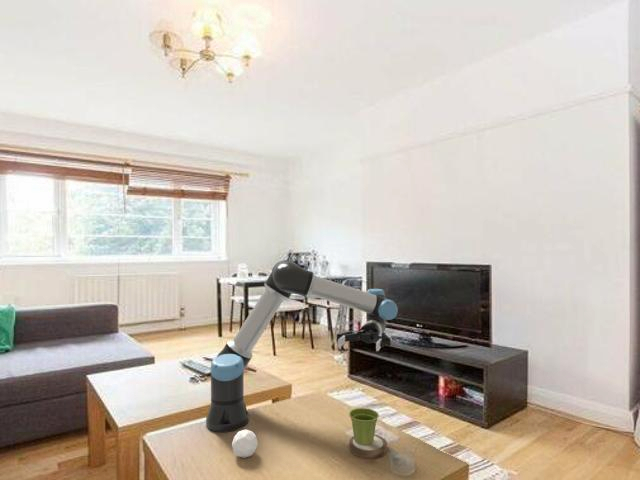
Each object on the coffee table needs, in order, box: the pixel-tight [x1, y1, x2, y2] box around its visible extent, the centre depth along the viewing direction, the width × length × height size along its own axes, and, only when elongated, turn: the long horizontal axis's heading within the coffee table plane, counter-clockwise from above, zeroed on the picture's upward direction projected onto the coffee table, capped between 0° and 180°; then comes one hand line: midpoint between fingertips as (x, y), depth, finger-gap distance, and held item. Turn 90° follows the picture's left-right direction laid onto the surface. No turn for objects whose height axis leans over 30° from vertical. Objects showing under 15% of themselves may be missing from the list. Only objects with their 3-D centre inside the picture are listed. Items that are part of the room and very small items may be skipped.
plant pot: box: [348, 407, 379, 445], centre depth 131 cm, size 9×9×9 cm
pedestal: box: [348, 433, 388, 460], centre depth 130 cm, size 12×12×2 cm
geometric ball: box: [231, 429, 259, 459], centre depth 126 cm, size 8×8×8 cm
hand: (357, 345), depth 142 cm, fingers open, 13 cm apart
